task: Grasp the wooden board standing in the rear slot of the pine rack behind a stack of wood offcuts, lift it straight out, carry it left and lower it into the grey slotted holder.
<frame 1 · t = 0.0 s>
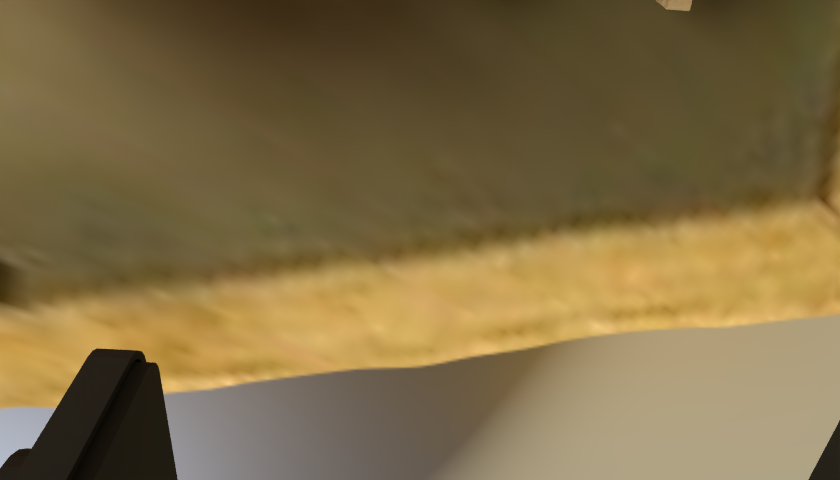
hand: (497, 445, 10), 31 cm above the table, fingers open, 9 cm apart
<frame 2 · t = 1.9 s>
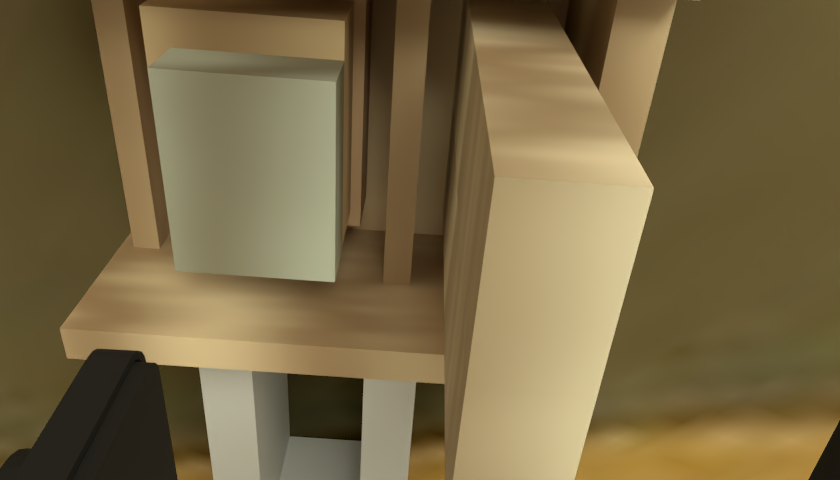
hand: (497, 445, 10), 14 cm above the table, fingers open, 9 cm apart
wooden board: (486, 105, 21), point 1 cm above the table, touching rack
rack: (362, 85, 22), on the table
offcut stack: (285, 90, 21), point 1 cm above the table, touching rack
holder: (329, 364, 28), on the table
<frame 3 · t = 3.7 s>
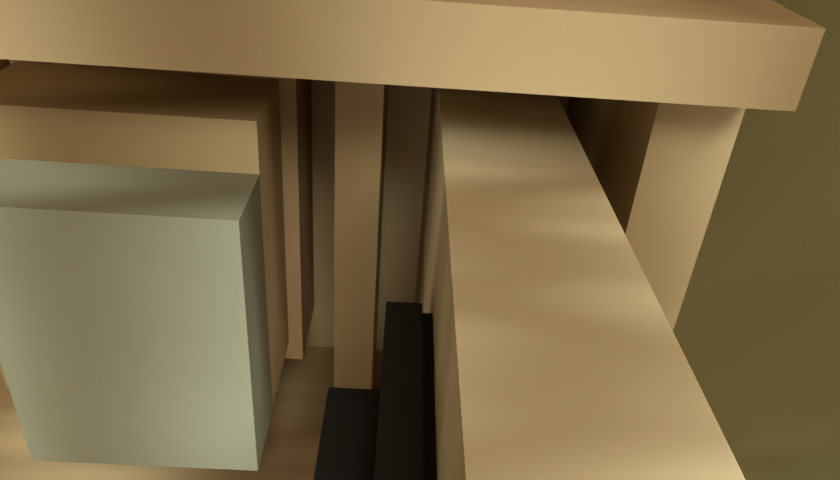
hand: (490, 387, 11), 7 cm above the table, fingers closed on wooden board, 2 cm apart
wooden board: (466, 198, 16), point 1 cm above the table, touching gripper
rack: (305, 169, 17), on the table
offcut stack: (201, 182, 16), point 1 cm above the table, touching rack
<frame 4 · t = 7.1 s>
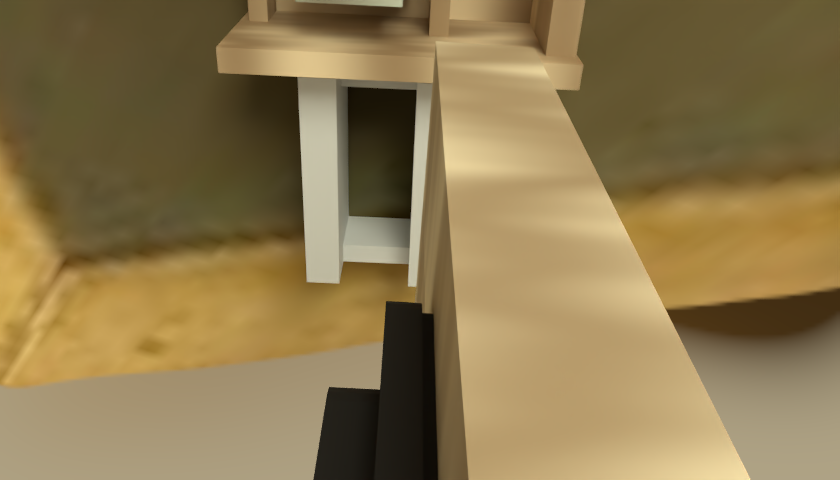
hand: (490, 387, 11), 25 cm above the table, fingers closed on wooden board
wooden board: (467, 197, 16), point 19 cm above the table, touching gripper
holder: (381, 147, 36), on the table
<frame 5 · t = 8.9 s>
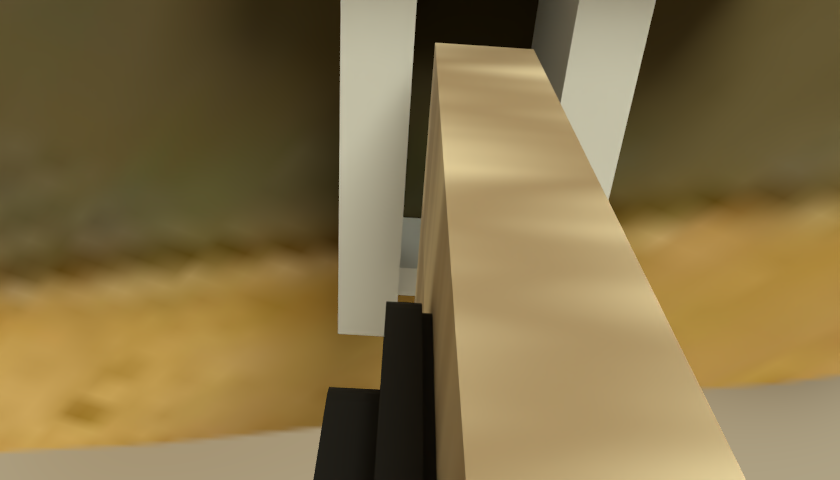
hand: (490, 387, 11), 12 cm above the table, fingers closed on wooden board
wooden board: (466, 199, 16), point 6 cm above the table, touching gripper
holder: (466, 100, 21), on the table
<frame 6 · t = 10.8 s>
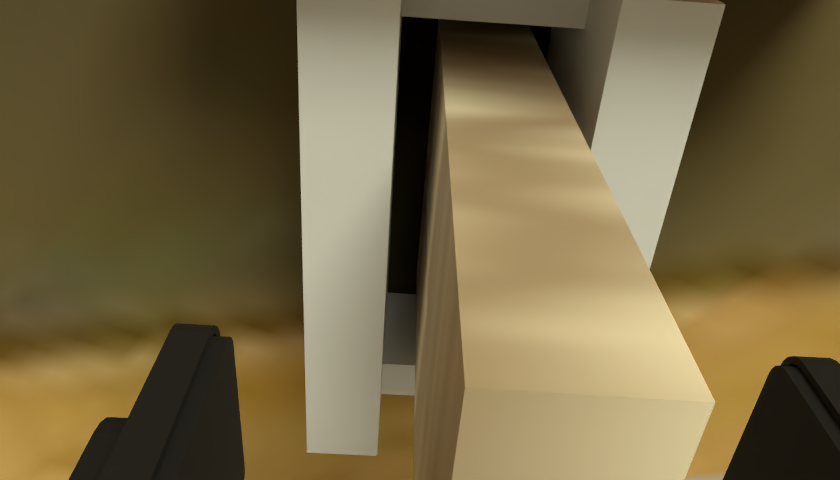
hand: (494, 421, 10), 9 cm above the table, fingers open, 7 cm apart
wooden board: (466, 159, 18), resting in holder
holder: (462, 161, 18), on the table
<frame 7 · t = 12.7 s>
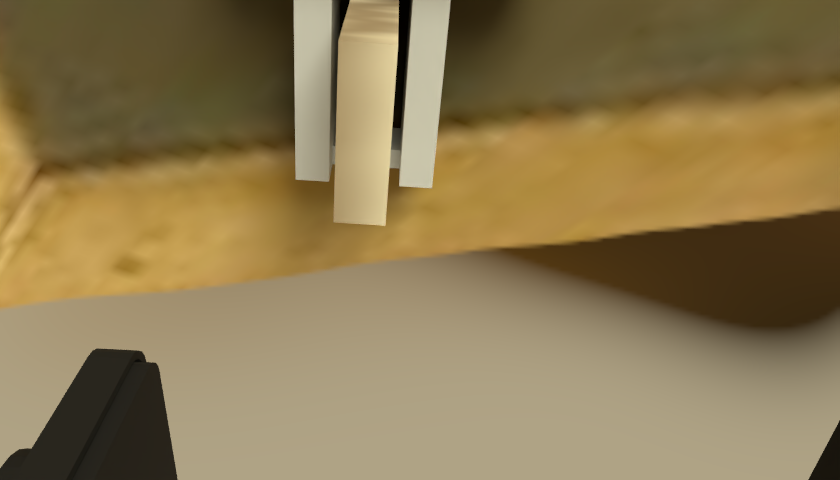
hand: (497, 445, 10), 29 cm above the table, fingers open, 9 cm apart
wooden board: (374, 47, 35), resting in holder
holder: (372, 48, 35), on the table
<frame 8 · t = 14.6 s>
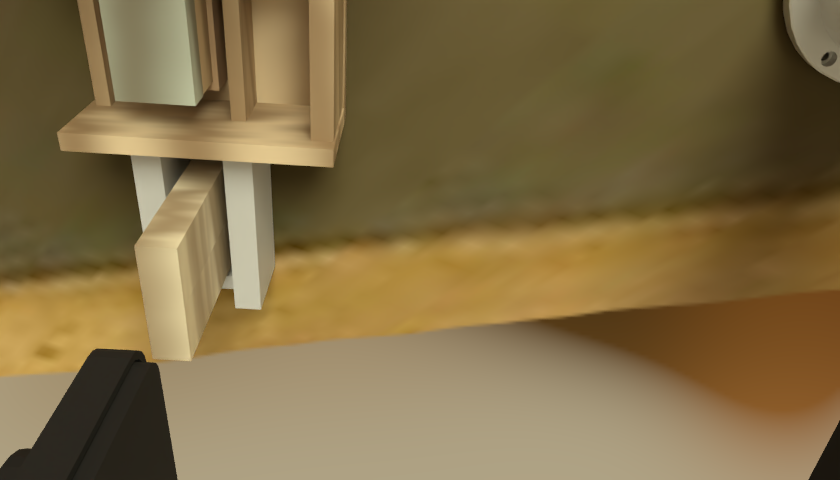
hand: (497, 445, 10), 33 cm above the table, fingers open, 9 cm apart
wooden board: (222, 195, 45), resting in holder
rack: (222, 15, 39), on the table
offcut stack: (177, 17, 38), point 1 cm above the table, touching rack
holder: (220, 195, 45), on the table
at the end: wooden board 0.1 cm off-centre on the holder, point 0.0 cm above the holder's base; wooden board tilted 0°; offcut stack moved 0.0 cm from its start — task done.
